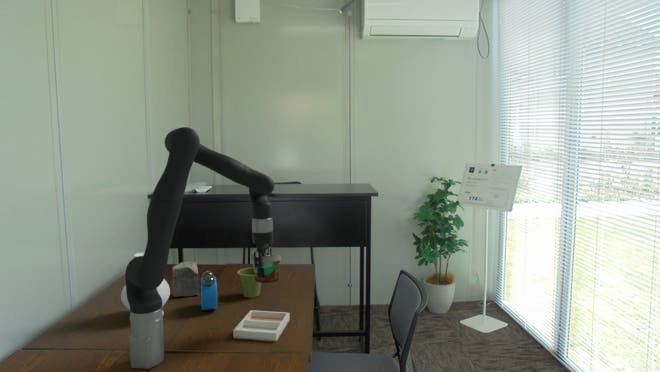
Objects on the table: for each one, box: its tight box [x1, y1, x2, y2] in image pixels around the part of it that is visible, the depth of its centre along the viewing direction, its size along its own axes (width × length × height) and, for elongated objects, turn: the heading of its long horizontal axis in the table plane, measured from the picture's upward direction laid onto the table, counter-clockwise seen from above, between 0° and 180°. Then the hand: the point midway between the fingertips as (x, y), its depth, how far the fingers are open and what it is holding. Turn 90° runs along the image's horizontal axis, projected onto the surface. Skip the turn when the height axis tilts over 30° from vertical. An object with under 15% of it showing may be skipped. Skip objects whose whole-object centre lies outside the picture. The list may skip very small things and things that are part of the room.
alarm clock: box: [199, 270, 218, 312], centre depth 179 cm, size 13×6×15 cm, turn 19°
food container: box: [250, 250, 282, 284], centre depth 159 cm, size 12×6×10 cm, turn 62°
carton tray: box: [232, 309, 291, 342], centre depth 161 cm, size 18×16×3 cm
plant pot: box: [237, 267, 262, 299], centre depth 195 cm, size 12×12×11 cm
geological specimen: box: [171, 260, 200, 298], centre depth 195 cm, size 11×6×15 cm, turn 115°
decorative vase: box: [120, 251, 171, 317], centre depth 171 cm, size 18×18×25 cm
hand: (263, 274), depth 160 cm, fingers closed on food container, 5 cm apart
